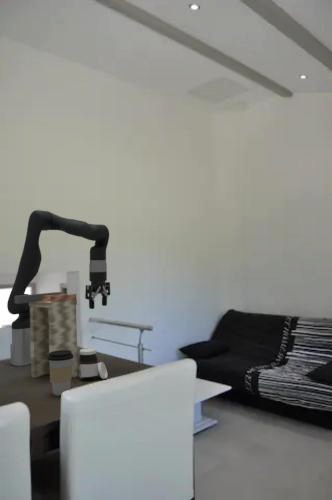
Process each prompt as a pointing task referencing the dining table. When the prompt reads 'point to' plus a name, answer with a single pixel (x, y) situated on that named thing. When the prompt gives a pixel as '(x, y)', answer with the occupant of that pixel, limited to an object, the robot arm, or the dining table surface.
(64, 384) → the coffee cup
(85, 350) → the spread jar
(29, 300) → the bar
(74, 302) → the wooden open box
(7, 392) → the dining table surface
